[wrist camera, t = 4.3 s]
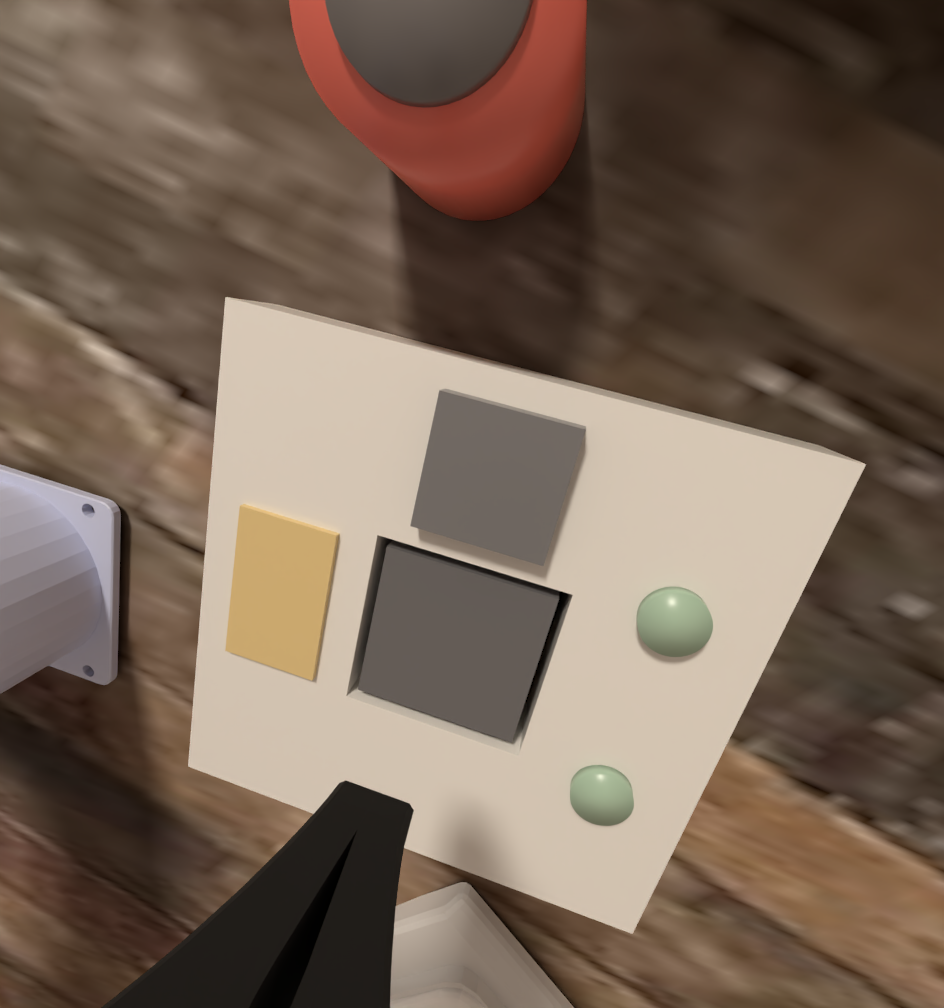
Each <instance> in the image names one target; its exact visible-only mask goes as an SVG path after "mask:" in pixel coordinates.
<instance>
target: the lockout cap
mask: <svg viewBox="0 0 944 1008" xmlns="http://www.w3.org/2000/svg"><path fill="white" fill-rule="evenodd" d="M289 3H290V12H291V18H292V25H293V31H294V34H295V38H296V42H297V46H298V50H299V53H300V56H301V58H302V61H303V64H304V67H305V69H306V72H307V74H308V76H309V78H310V80H311V82H312V84H313V86H314V88H315V89H316V91H317V92H318V94H319V96H320V97H321V99H322V100H323V102H324V103H325V105H326V106H327V107H328V108H329V110H330V111H331V112H332V113H333V114H334V116H335V117H336V118H337V119H338V120H339V121H340V122H341V123H342V124H343V125H344V126H345V127H346V128H347V129H348V130H349V131H350V132H351V133H352V134H354V135H355V136H356V137H357V138H358V139H359V140H360V141H361V142H362V143H363V144H364V145H365V146H366V147H367V148H368V149H369V150H370V151H372V152H373V153H374V154H375V155H376V156H377V157H378V158H379V159H380V160H381V161H382V162H383V163H384V164H385V165H386V166H387V167H388V168H390V169H391V170H392V171H393V172H394V173H395V174H396V175H397V176H398V177H399V178H400V179H401V180H402V181H403V182H404V183H405V184H406V185H408V186H409V187H410V188H411V189H412V190H413V191H414V192H415V193H416V194H417V195H418V196H419V197H420V198H422V199H423V200H424V201H425V202H426V203H427V204H429V205H430V206H432V207H433V208H435V209H436V210H438V211H440V212H442V213H444V214H446V215H449V216H452V217H455V218H458V219H464V220H471V221H485V220H492V219H497V218H501V217H504V216H507V215H510V214H512V213H514V212H516V211H519V210H521V209H522V208H524V207H526V206H527V205H529V204H530V203H532V202H533V201H534V200H536V199H537V198H538V197H539V196H540V195H542V194H543V193H544V192H545V191H546V190H547V189H548V188H549V187H550V185H551V184H552V183H553V182H554V181H555V179H556V178H557V177H558V175H559V174H560V173H561V171H562V170H563V168H564V166H565V165H566V163H567V161H568V160H569V158H570V156H571V153H572V151H573V149H574V147H575V144H576V141H577V138H578V135H579V132H580V129H581V124H582V119H583V114H584V103H585V72H586V16H587V0H289Z"/></svg>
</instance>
